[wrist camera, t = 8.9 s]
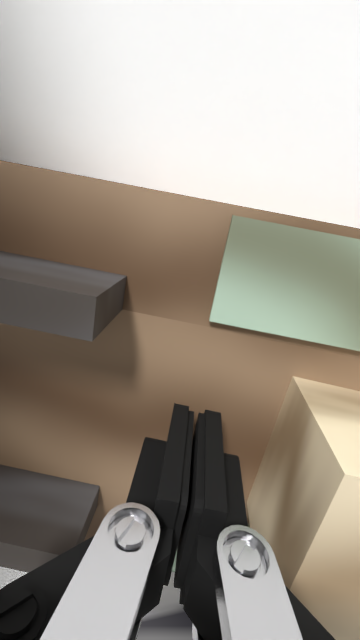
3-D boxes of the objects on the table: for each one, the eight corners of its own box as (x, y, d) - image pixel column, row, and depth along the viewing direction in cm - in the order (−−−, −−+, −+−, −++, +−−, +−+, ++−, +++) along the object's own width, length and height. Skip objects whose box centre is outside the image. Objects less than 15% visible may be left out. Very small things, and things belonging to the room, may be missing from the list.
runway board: (-436, 80, 12) (-848, -9, 7) (563, 270, 11) (823, 309, 6) (-306, 424, 17) (-502, 502, 12) (388, 574, 16) (461, 721, 12)
